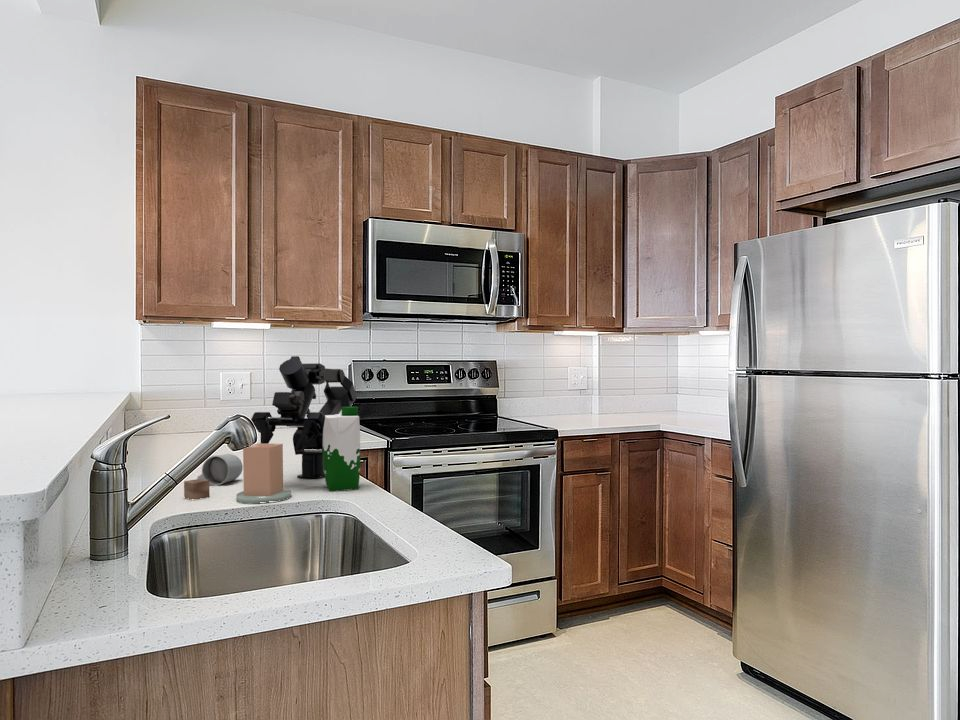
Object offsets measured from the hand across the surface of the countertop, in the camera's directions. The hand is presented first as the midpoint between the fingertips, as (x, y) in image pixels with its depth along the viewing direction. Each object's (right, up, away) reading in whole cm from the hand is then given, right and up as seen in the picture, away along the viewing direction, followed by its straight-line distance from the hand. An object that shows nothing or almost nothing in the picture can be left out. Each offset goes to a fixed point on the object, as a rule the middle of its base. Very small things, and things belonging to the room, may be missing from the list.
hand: (279, 449), depth 156 cm
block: (-17, -10, -6) cm, 21 cm away
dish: (-1, -10, -8) cm, 13 cm away
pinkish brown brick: (-1, -9, -8) cm, 12 cm away
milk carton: (+14, -10, +4) cm, 18 cm away
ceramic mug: (-20, -11, +12) cm, 25 cm away
